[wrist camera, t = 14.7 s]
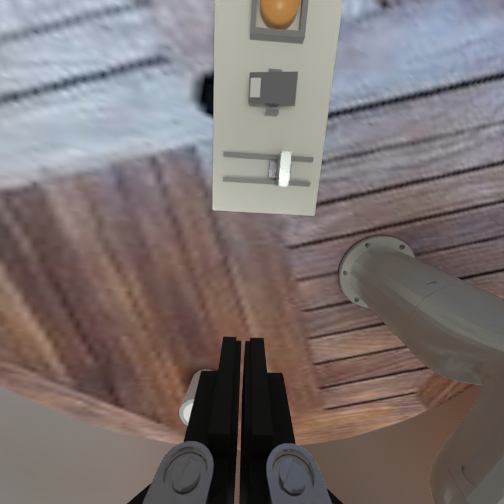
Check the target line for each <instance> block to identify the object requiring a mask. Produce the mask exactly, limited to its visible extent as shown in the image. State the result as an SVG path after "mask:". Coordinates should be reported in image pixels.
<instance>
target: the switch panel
mask: <svg viewBox="0 0 504 504" xmlns="http://www.w3.org/2000/svg"><path fill="white" fill-rule="evenodd" d="M260 1H261V0H215V35H214V124H213V210H219V211H237V212H254V213H272V214H290V215H308V216H315V208H316V201H317V193H318V186H319V178H320V171H321V163H322V155H323V148H324V140H325V133H326V125H327V118H328V110H329V103H330V95H331V87H332V80H333V72H334V65H335V57H336V50H337V42H338V35H339V27H340V19H341V12H342V4H343V0H301V1H300V5H299V8H298V11H297V15H296V18H295V20H294V22H293V23H292V24H291V26H290V27H289V28H287V29H285V30H284V29H272V28H268V27H267V26H266V25H265V23H264V22H263V20H262V17H261V13H260ZM250 72H298V81H297V91H296V101H295V106H276V107H269V106H250V105H249V104H248V97H249V76H250ZM281 151H292V154H291V163H292V171H291V179H289V184H288V187H285V186H275V181H276V178H269V177H268V175H269V162H277V157H278V153H280V152H281Z"/></svg>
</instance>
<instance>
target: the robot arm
mask: <svg viewBox="0 0 504 504" xmlns="http://www.w3.org/2000/svg"><path fill="white" fill-rule="evenodd" d="M365 244H366V245H365ZM344 270H345V271H344ZM343 271H344V272H343ZM338 281H339V285H340V288H341V290H342V292H343V293H344V295H345V296H346V297H347V298H348V299H349V300H350V301H351V302H352V303H354V304H356V305H358V306H360V307H365V308H370V309H371V310H372V311H373V312H374V313H375V314H376V315H377V316H378V317H379V318H380V319H381V320H382V321H383V322H384V323H385V324H386V325H387V326H388V327H389V329H390V330H391V331H392V332H393V333H394V334H395V335H396V336H397V337H398V338H399V339H400V340H401V341H402V342H403V343H404V344H405V345H406V346H407V347H408V348H409V349H410V350H411V352H412V353H413V354H414V355H415V356H416V357H417V358H418V359H419V360H420V361H421V362H422V363H424V364H425V365H426V366H427V367H428V368H430V369H431V370H433V371H434V372H436V373H438V374H440V375H442V376H444V377H447V378H450V379H453V380H456V381H460V382H465V383H470V384H478V385H482V390H481V393H480V395H479V396H478V398H477V399H476V401H475V402H474V404H473V405H472V407H471V410H470V411H469V412H468V413H467V415H466V416H465V417H464V419H463V420H462V421H461V423H460V424H459V426H458V427H457V428H456V429H455V431H454V432H453V433H452V434H451V436H450V437H449V439H448V440H447V441H446V443H445V444H444V445H443V447H442V448H441V449H440V451H439V453H438V454H437V456H436V457H435V459H434V462H433V464H432V467H431V471H430V488H431V492H432V497H433V499H434V502H435V504H504V299H502V298H500V297H498V296H495V295H493V294H491V293H489V292H487V291H485V290H482V289H480V288H478V287H476V286H473V285H471V284H469V283H467V282H465V281H463V280H461V279H458V278H456V277H454V276H452V275H450V274H448V273H446V272H443V271H441V270H439V269H437V268H435V267H433V266H431V265H428V264H426V263H424V262H422V261H420V260H418V259H416V258H415V255H414V253H413V251H412V249H411V248H410V247H409V246H408V245H407V244H406V243H404V242H403V241H401V240H399V239H397V238H394V237H390V236H381V235H380V236H372V237H369V238H366V239H364V240H362V241H360V242H358V243H357V244H356V245H354V246H353V247H352V248H351V249H350V250H349V251H348V252H347V253H346V255H345V256H344V258H343V259H342V262H341V264H340V267H339V271H338ZM240 361H241V341H236V337H223V343H222V349H221V356H220V362H219V369H218V371H205V370H202V371H201V373H200V377H199V381H198V385H197V389H196V393H195V398H194V402H193V406H192V410H191V414H190V418H189V422H188V426H187V431H186V435H185V439H184V442H183V443H180V444H178V445H176V446H175V447H173V448H172V449H171V450H170V451H169V452H168V453H167V454H166V455H165V457H164V458H163V460H162V461H161V463H160V465H159V468H158V470H157V472H156V474H155V476H154V479H153V481H152V483H151V484H150V485H149V486H147V487H146V488H145V489H144V490H143V491H141V492H140V493H139V494H138V495H137V496H136V497H134V498H133V499H132V500H131V501H130V502H129V503H127V504H234V491H235V473H236V455H237V437H238V413H239V387H240ZM240 460H241V461H240V502H239V503H240V504H343V503H342V502H341V501H339V500H338V499H337V498H336V497H335V496H334V495H333V494H332V493H331V492H330V491H329V490H328V489H327V488H326V486H325V484H324V481H323V478H322V475H321V473H320V470H319V467H318V465H317V464H316V462H315V460H314V458H313V457H312V456H311V455H310V453H309V452H308V451H307V450H305V449H304V448H302V447H301V446H298V445H296V444H295V438H294V433H293V427H292V422H291V416H290V411H289V406H288V400H287V395H286V389H285V384H284V378H283V374H282V373H267V368H266V358H265V348H264V339H263V338H250V341H245V355H244V372H243V389H242V419H241V459H240Z"/></svg>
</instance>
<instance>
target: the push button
mask: <svg viewBox="0 0 504 504" xmlns="http://www.w3.org/2000/svg"><path fill="white" fill-rule="evenodd" d="M300 1H301V0H261V1H260V13H261V17H262V20H263V22H264V23H265V25H266V26H267V27H268V28H272V29H284V30H285V29H287V28H289V27H290V26H291V24H292V23H293V22H294V20H295V18H296V15H297V11H298V8H299V5H300Z"/></svg>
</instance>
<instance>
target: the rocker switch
mask: <svg viewBox="0 0 504 504" xmlns="http://www.w3.org/2000/svg"><path fill="white" fill-rule="evenodd" d="M297 81H298V72H250V76H249V97H248V104H249V105H250V106H269V107H276V106H295V101H296V91H297Z"/></svg>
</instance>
